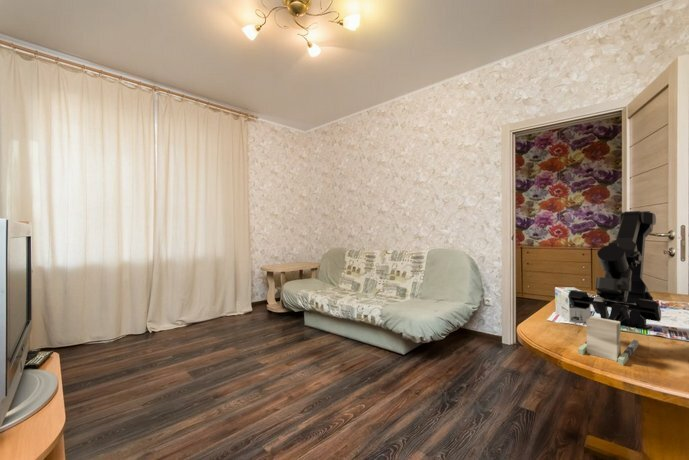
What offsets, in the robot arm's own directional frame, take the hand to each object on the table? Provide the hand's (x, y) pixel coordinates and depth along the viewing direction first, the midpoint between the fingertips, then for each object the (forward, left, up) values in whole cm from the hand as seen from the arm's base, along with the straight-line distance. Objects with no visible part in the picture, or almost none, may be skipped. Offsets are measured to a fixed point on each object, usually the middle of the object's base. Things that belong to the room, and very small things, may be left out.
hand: (605, 331), depth 81 cm
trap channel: (-2, -1, -7) cm, 7 cm away
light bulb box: (-17, -25, -7) cm, 31 cm away
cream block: (+2, +1, -6) cm, 6 cm away
